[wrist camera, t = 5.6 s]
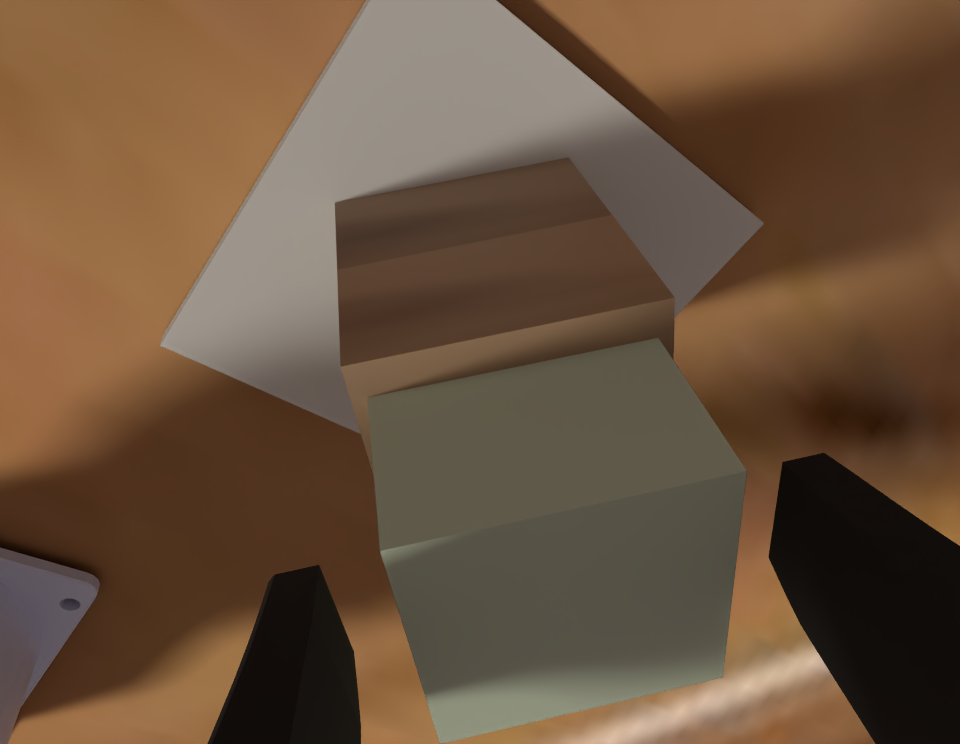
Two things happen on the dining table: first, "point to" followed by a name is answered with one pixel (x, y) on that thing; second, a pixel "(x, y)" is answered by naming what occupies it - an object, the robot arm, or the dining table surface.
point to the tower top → (495, 308)
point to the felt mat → (429, 182)
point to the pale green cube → (557, 535)
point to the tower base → (463, 212)
